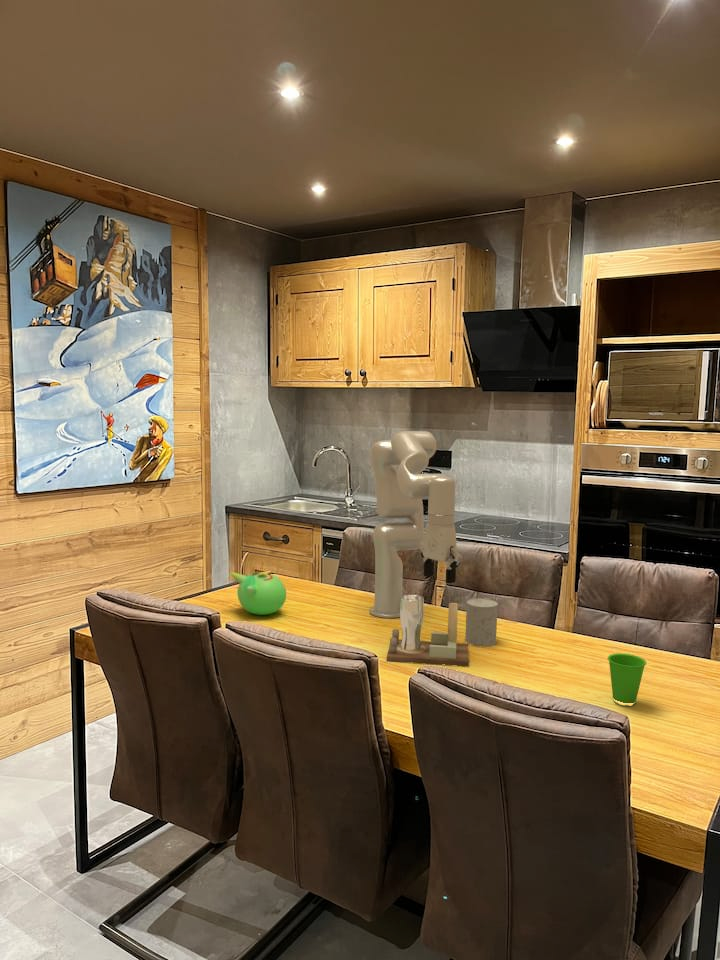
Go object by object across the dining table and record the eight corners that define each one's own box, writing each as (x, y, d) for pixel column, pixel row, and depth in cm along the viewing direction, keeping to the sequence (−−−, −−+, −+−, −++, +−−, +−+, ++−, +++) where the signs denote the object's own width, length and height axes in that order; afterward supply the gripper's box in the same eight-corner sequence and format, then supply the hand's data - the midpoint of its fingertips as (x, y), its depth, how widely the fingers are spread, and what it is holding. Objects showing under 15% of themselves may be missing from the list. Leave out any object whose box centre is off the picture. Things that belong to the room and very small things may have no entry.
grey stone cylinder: (499, 639, 227) (501, 600, 226) (491, 648, 219) (493, 608, 217) (470, 634, 231) (471, 596, 230) (461, 643, 223) (462, 604, 221)
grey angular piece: (431, 642, 218) (432, 596, 217) (456, 643, 217) (457, 598, 216) (429, 657, 205) (430, 608, 204) (456, 659, 204) (457, 610, 203)
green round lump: (294, 616, 246) (295, 574, 245) (249, 624, 237) (249, 580, 235) (270, 603, 261) (270, 563, 260) (226, 610, 252) (226, 568, 250)
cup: (599, 695, 185) (601, 653, 184) (633, 694, 186) (636, 653, 185) (614, 710, 176) (617, 666, 175) (650, 709, 177) (653, 666, 176)
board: (391, 643, 221) (391, 626, 220) (467, 648, 218) (468, 630, 217) (386, 661, 206) (387, 642, 206) (468, 666, 203) (469, 647, 203)
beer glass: (421, 652, 209) (423, 601, 207) (397, 650, 210) (398, 599, 208) (424, 644, 215) (425, 595, 214) (400, 642, 217) (402, 593, 215)
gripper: (411, 517, 212) (410, 574, 214) (451, 525, 198) (449, 587, 200) (431, 515, 216) (430, 571, 218) (471, 523, 202) (469, 584, 204)
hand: (439, 579), depth 209 cm, fingers open, 9 cm apart
